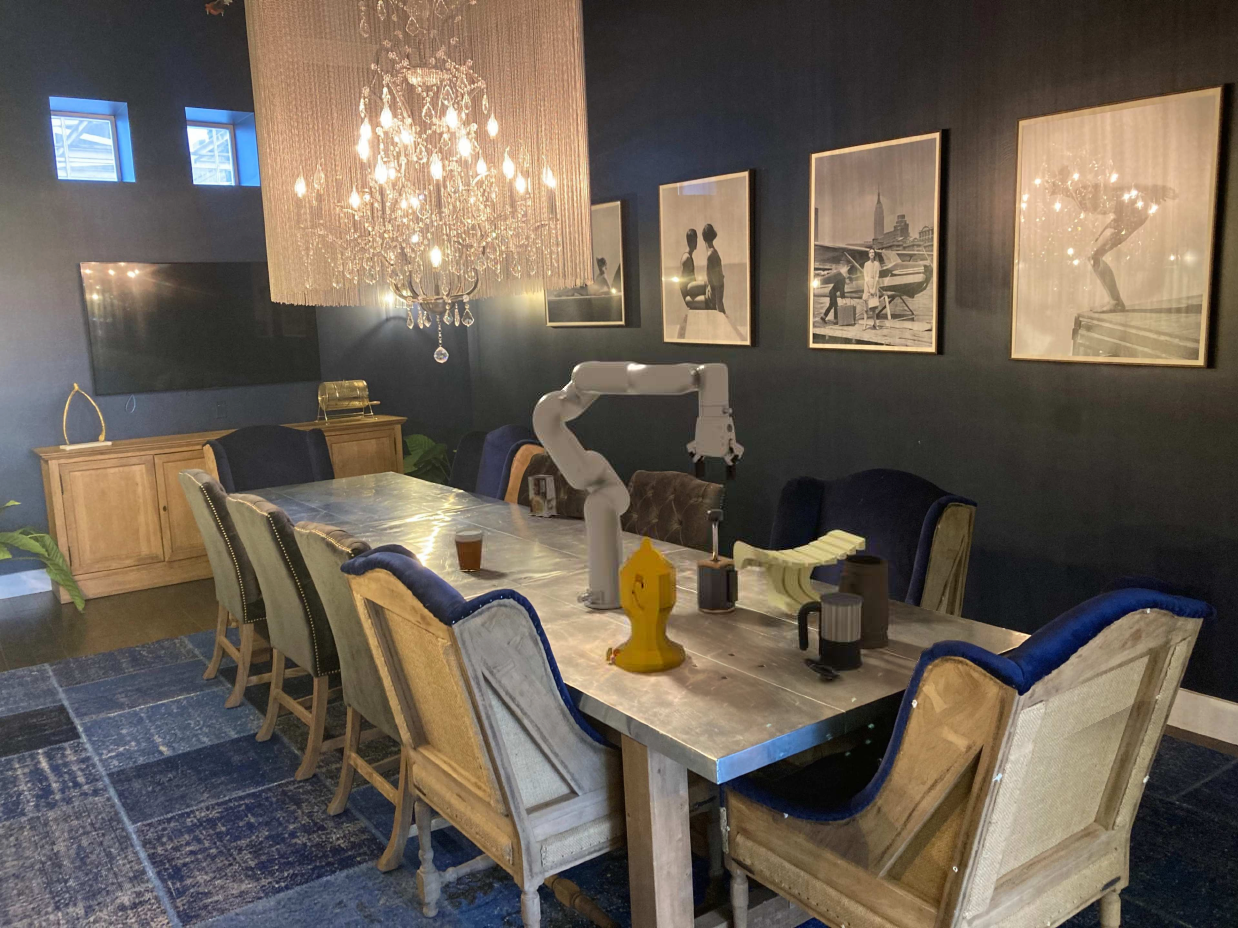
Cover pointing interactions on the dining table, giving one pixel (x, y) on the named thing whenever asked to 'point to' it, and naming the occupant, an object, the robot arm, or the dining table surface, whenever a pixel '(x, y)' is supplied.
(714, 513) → the plunger
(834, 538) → the slatted curved stool
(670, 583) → the yellow tall piece
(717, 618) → the dining table surface
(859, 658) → the milk frother
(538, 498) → the coffee box
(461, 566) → the glass of beer
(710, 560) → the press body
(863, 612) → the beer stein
